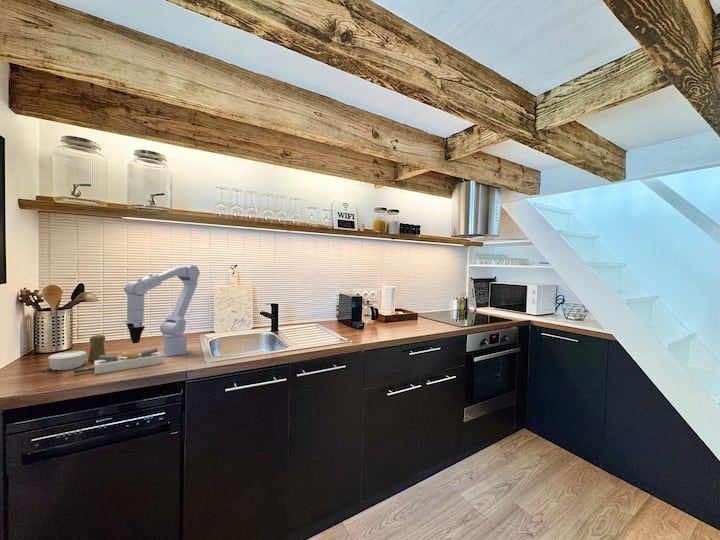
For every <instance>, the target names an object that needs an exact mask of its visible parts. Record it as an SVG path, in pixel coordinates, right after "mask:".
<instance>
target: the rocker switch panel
mask: <svg viewBox="0 0 720 540" xmlns="http://www.w3.org/2000/svg"><path fill="white" fill-rule="evenodd" d="M162 362H163V355H162V354H161V351H158V352H156V353H152V354H149V355H146V356H143V357H142V355H141V353H139V356H138V357H122V356H119V357H118V358H117V360H96V361H94V362H93V363H94V364H93V367H89V368H88V367H87V368H83V369H76V370H74V369H73V374H78V373H85V372H92V371H93V374H94V375H99V374H104V373H106V374H107V373H111V372H118V371H124V370H129V369H130V370H131V369H136V368H141V367H148V365H149V366H154V365H159V364H160V365H162Z"/></svg>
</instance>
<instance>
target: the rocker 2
mask: <svg viewBox="0 0 720 540" xmlns="http://www.w3.org/2000/svg"><path fill="white" fill-rule="evenodd" d="M156 352H159V351H158V348H157V347H154V348H150V349H147V350H143V351H141V352H140V354H141V355H142V357H143V356H146V355H149V354H152V353H156Z"/></svg>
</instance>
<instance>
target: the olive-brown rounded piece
mask: <svg viewBox="0 0 720 540" xmlns="http://www.w3.org/2000/svg"><path fill="white" fill-rule="evenodd" d="M105 341H106V336H105V335H103V334H96V335H92V336H90V337H89V343H90V347H89V352H88V359H87V362H88V363H94V361H96V360H99V356H100V355H106V350H105V343H104V342H105Z"/></svg>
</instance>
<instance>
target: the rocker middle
mask: <svg viewBox="0 0 720 540" xmlns="http://www.w3.org/2000/svg"><path fill="white" fill-rule="evenodd" d="M139 354H140V353H139V352H132V351H131V352H128V351H122V352H121V356H120V357H138V356H139Z"/></svg>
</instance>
